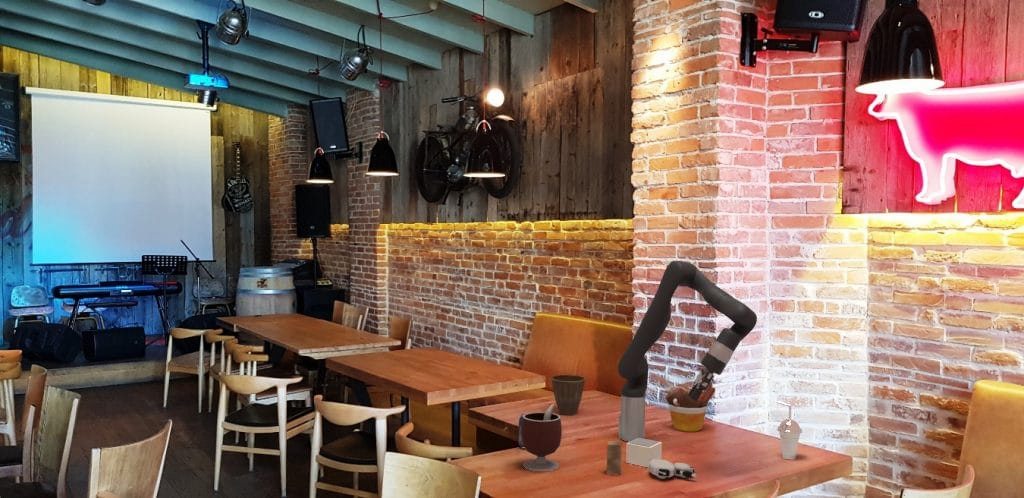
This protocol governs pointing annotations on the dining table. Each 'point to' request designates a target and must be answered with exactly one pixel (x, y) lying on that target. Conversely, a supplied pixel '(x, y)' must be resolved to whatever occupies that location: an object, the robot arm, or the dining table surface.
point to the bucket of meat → (687, 408)
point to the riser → (643, 451)
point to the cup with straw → (789, 436)
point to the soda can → (520, 431)
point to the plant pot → (568, 392)
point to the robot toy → (670, 469)
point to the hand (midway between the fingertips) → (691, 398)
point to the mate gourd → (541, 438)
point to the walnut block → (614, 457)
